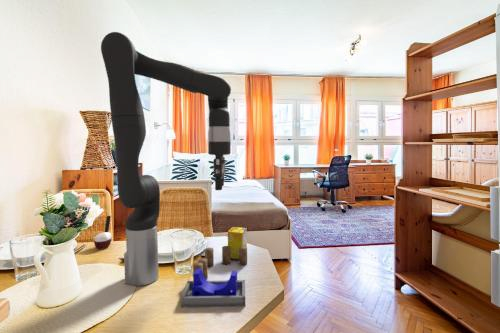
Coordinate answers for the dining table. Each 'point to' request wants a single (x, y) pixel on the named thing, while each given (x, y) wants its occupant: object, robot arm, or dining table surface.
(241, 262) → the spacer
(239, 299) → the tray
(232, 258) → the supplement box
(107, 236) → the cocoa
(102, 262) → the dining table surface
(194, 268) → the spacer
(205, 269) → the spacer
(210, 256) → the block
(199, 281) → the cable clip
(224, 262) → the spacer
